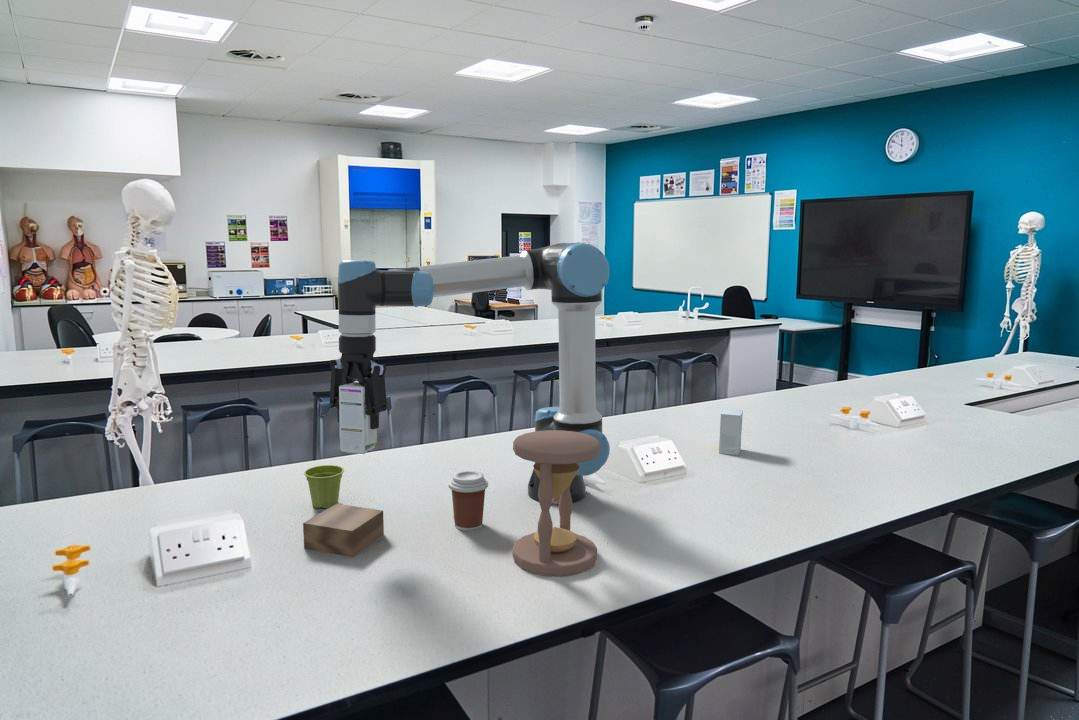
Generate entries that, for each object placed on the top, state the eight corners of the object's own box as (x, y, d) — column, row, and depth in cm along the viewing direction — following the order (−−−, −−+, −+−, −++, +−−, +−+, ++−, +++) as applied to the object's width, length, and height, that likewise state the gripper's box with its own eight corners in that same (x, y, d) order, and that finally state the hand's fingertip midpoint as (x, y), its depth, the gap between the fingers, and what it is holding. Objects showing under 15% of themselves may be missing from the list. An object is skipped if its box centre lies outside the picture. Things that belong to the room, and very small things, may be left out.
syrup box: (364, 454, 146) (364, 387, 144) (338, 451, 148) (338, 384, 145) (376, 447, 152) (376, 382, 150) (351, 444, 153) (351, 380, 151)
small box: (720, 447, 227) (723, 408, 225) (740, 449, 225) (743, 409, 223) (718, 453, 220) (720, 413, 218) (739, 456, 218) (741, 415, 216)
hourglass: (570, 585, 133) (573, 458, 129) (495, 562, 142) (496, 444, 138) (611, 552, 147) (614, 437, 143) (541, 533, 156) (542, 425, 152)
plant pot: (352, 504, 173) (351, 470, 171) (317, 514, 166) (316, 479, 164) (332, 495, 179) (331, 462, 178) (298, 504, 172) (296, 470, 171)
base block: (383, 536, 155) (383, 510, 154) (353, 558, 143) (352, 531, 142) (337, 528, 158) (336, 503, 157) (304, 549, 147) (303, 523, 146)
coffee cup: (451, 534, 155) (451, 483, 153) (446, 519, 164) (445, 470, 162) (491, 531, 157) (492, 480, 156) (484, 516, 166) (484, 467, 164)
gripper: (405, 336, 144) (405, 443, 148) (336, 329, 154) (337, 430, 157) (380, 339, 138) (381, 452, 141) (310, 331, 147) (311, 437, 151)
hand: (358, 440), depth 149 cm, fingers closed on syrup box, 7 cm apart
